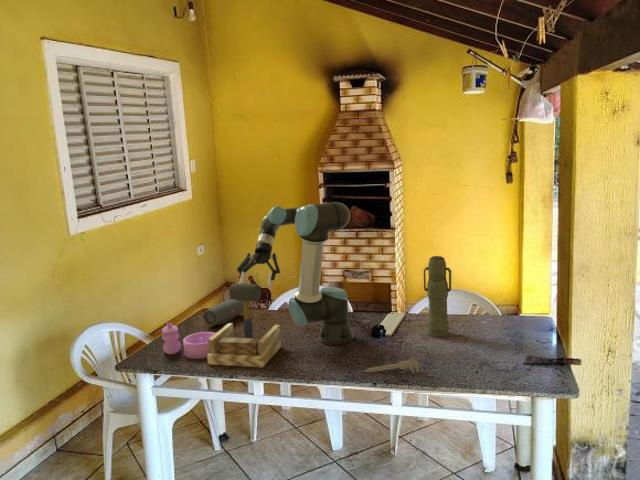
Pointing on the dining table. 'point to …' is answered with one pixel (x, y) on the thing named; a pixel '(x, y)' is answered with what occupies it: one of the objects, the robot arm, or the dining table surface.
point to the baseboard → (392, 322)
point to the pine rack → (266, 350)
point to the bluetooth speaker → (223, 312)
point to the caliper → (397, 366)
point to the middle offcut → (240, 352)
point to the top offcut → (239, 343)
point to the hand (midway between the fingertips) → (254, 285)
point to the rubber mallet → (246, 302)
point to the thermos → (437, 296)
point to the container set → (186, 342)
